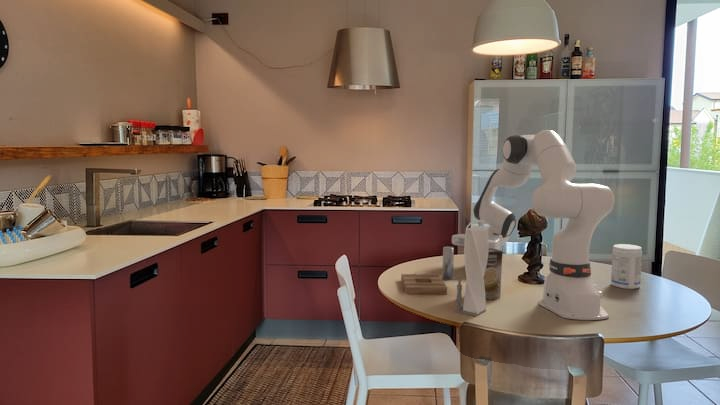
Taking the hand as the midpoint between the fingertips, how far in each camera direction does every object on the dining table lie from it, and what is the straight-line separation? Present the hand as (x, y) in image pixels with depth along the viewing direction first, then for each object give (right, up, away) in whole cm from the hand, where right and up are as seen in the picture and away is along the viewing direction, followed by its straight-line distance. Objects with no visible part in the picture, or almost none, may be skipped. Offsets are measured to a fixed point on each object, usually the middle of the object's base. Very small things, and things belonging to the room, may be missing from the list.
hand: (465, 244), depth 208 cm
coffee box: (0, -15, -32) cm, 35 cm away
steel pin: (-8, -12, -8) cm, 17 cm away
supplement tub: (+55, -14, -17) cm, 59 cm away
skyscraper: (-7, -17, -47) cm, 50 cm away
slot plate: (-19, -14, -20) cm, 31 cm away
